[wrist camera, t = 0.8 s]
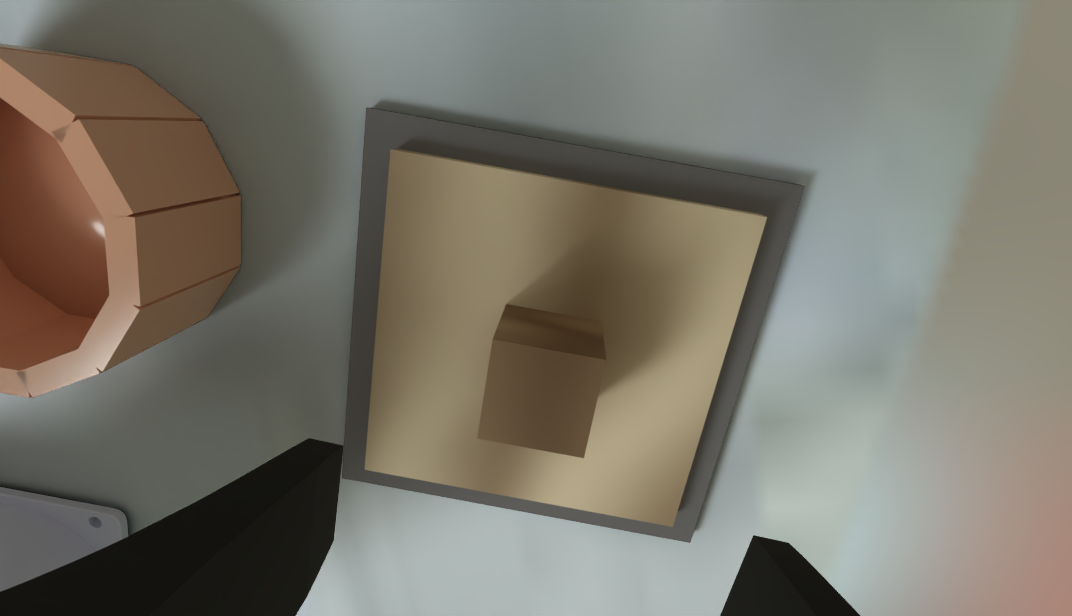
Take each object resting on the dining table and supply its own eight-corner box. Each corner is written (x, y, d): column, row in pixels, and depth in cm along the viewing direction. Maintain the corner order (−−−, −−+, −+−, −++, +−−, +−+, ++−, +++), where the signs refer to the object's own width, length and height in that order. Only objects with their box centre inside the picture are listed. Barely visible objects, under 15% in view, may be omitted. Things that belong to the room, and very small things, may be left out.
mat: (346, 471, 21) (342, 477, 20) (371, 108, 17) (366, 107, 16) (688, 534, 21) (690, 542, 20) (799, 184, 16) (804, 186, 16)
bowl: (-8, 309, 20) (-170, 361, 15) (-51, 32, 17) (-266, -1, 12) (241, 355, 19) (148, 419, 15) (240, 84, 17) (124, 70, 12)
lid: (370, 459, 20) (328, 528, 17) (396, 148, 16) (350, 154, 13) (670, 515, 20) (689, 596, 16) (760, 213, 16) (809, 237, 13)
